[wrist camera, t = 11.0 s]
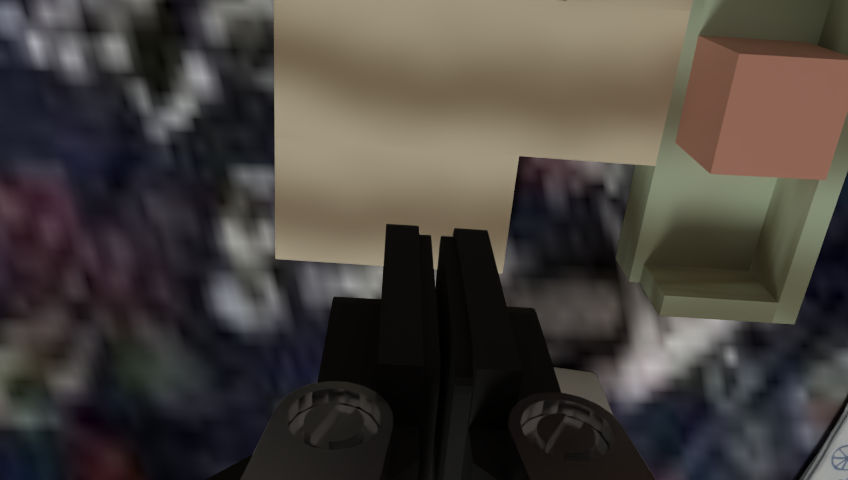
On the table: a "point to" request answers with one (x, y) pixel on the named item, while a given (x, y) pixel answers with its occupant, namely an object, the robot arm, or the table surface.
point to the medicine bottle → (582, 385)
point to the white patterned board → (831, 454)
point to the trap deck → (538, 135)
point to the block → (764, 107)
